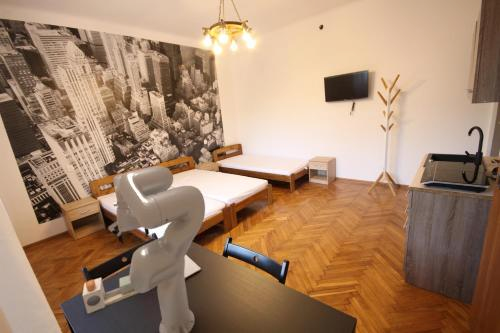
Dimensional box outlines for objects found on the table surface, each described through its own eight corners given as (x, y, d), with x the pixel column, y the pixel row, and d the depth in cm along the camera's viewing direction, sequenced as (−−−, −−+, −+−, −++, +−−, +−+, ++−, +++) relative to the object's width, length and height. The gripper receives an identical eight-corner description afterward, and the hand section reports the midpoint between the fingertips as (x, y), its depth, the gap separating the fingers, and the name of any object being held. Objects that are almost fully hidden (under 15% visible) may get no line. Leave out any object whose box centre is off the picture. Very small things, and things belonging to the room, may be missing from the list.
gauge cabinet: (104, 307, 95) (100, 289, 93) (87, 314, 92) (82, 295, 90) (105, 294, 102) (101, 277, 100) (89, 300, 99) (84, 282, 97)
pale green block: (150, 288, 104) (148, 277, 103) (104, 306, 96) (101, 294, 94) (148, 278, 110) (146, 268, 109) (105, 295, 102) (102, 283, 100)
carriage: (146, 286, 104) (142, 266, 101) (121, 295, 99) (117, 275, 96) (145, 278, 109) (141, 258, 106) (121, 287, 104) (116, 267, 101)
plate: (149, 272, 115) (149, 268, 115) (184, 255, 127) (183, 252, 127) (164, 292, 102) (164, 288, 101) (201, 271, 114) (201, 268, 113)
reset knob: (95, 289, 93) (94, 283, 92) (86, 292, 91) (85, 286, 90) (96, 284, 95) (94, 278, 94) (87, 287, 94) (85, 281, 93)
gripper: (103, 211, 88) (111, 249, 93) (151, 201, 96) (157, 237, 101) (104, 204, 95) (112, 240, 99) (149, 195, 103) (154, 229, 107)
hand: (134, 238), depth 100 cm, fingers open, 9 cm apart
